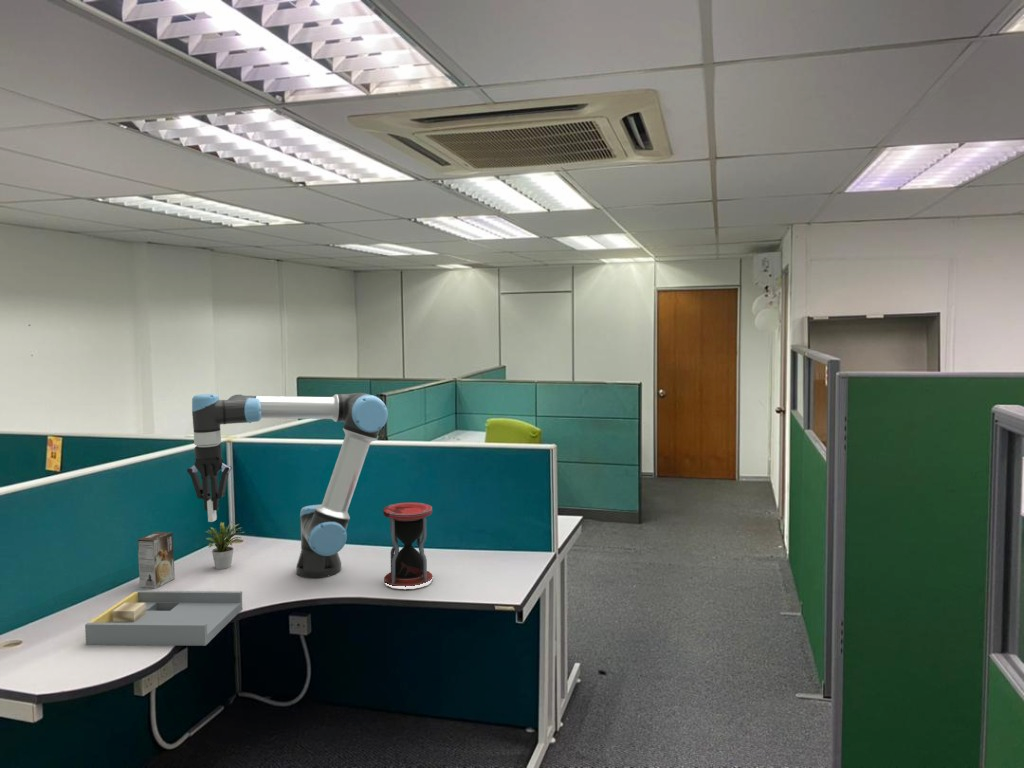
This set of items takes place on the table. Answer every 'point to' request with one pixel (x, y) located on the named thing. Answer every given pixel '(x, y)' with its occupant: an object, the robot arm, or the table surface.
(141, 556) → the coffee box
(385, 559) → the table surface
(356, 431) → the robot arm
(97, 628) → the box
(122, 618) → the block
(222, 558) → the house plant
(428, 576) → the hourglass
